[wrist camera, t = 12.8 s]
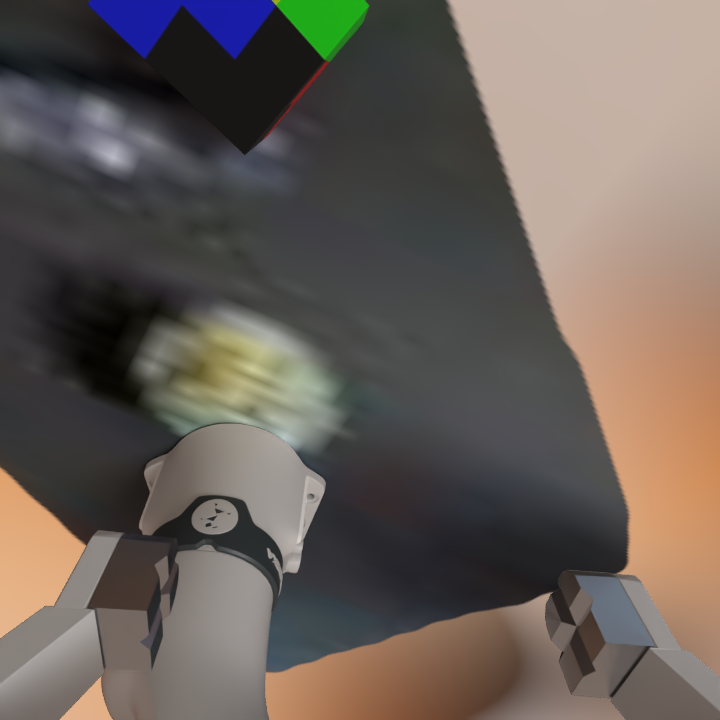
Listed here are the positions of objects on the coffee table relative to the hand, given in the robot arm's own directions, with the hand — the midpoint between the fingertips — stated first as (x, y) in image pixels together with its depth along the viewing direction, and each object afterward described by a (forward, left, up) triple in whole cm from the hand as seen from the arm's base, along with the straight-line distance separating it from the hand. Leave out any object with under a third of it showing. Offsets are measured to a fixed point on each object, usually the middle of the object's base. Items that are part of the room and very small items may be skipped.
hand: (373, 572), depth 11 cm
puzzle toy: (+11, +8, -34) cm, 37 cm away
